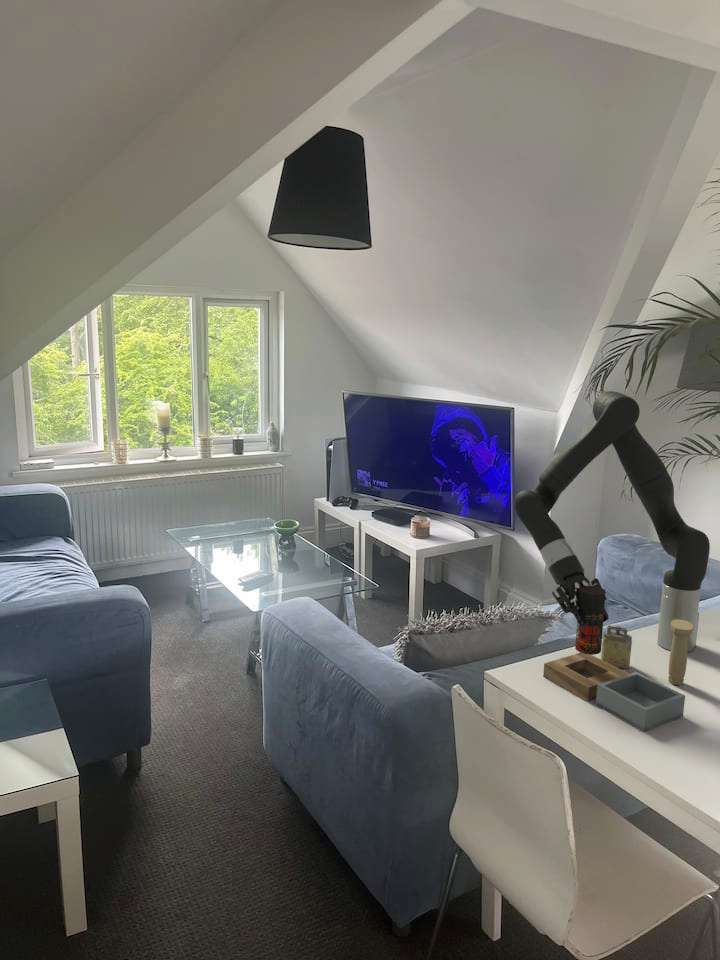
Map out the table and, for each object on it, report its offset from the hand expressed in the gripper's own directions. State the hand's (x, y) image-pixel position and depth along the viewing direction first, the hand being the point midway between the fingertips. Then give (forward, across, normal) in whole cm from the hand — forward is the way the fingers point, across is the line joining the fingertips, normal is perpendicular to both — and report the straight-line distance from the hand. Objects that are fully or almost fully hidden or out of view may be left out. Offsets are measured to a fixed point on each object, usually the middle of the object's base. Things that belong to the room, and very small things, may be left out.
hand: (595, 623), depth 169 cm
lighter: (+8, +14, +15) cm, 22 cm away
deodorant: (+4, 0, +6) cm, 8 cm away
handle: (+18, +19, +5) cm, 26 cm away
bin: (+21, 0, +1) cm, 21 cm away
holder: (+10, 0, +12) cm, 16 cm away
